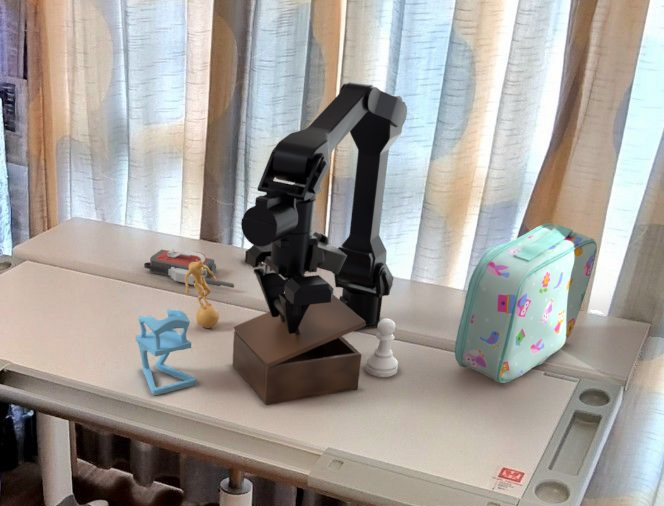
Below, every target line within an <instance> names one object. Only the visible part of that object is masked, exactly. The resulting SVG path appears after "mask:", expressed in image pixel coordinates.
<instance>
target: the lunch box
mask: <svg viewBox="0 0 664 506" xmlns="http://www.w3.org/2000/svg"><path fill="white" fill-rule="evenodd" d="M597 251H598V244H597V242H596V240H595V238H593V237H591V236H588V235H586V234H582V233H578V232H575V231H573V229H572V228H569V227H566V226H563V225H560V224H557V225H554V224H552V223H549V222H547V223H543V224H541V225H538V226H536V227H534V228H533V229H531V230H529V231H528V232H526V233H525V234H523V235H521V236H519V237H516V238H514V239H511V240H510V241H508V242H504V243H500V244H496V245H494V246H492V247H490V248H488V249H487V250H486V251H485V252H484V254H482V256H481V257H480V259H479V261H478V262H477V265H475V268H474V269H473V272H472V274H471V276H470V279H469V282H468V285H467V290H466V291H467V292H466V294H465V297H464V304H463V309H462V312H461V317H460V321H459V325H458V330H457V334H456V339H455V345H454V358H455V361H456V362H457V364H458V367H461V368H469V369H471V370H474V371H475V372H478V374H479V373H480V374H481V375H484V376H485V377H487V378H490V379H492V380H494V381H495V382H497V383H501V384H505V383H509V382H512V381H513V380H515V379H518V378H519V377H521V376H523V375H525V374H526V373H527V372H529V371H531V369H532V368H535V367H537V366H541V364H543V363H544V362H545V361H546V360H547V359H548V358H549V357H551V355H553V354H555V353H556V352H558V351H559V350H560V349H561V348H562V347H563V346H564V345H565V343H566V342H567V340H568V339H569V338H570V335H571V334H572V331H573V329H574V326H575V324H576V321H577V319H578V315H579V313H580V312H581V311H580V310H581V307H582V305H583V303H584V300H585V299H584V298H585V295H586V292H587V289H588V287H589V282H590V279H591V275H592V272H593V269H594V264H595V260H596V256H597Z"/></svg>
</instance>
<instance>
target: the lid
mask: <svg viewBox="0 0 664 506" xmlns="http://www.w3.org/2000/svg"><path fill="white" fill-rule="evenodd" d="M273 305H274V307H275V308H276V309H277V310H278V311H279V316H278V317H272V316H271V313H270V311H267V312H265V313H263V314H260V315H258V316H255V317H253V318H251V319H248V320H246V321H244V322H241V323H240V324H237V325H234V326H233V330H234V331H233V332H236V333H237V334H238V335H239V336H240V337H241V338H242V339H243V341H244V342H245V343H246V344H247V345H248V346H249V347H250V348H251V349H252V350H253V352H254V353H255V354H256V355H257V356H258V357H259V358H260V359H261V360H262V361H263V363H264V364H265V365H266V366H267V367H268V368H269V367H272V366H274V365H276V364H279V363H281V362H283V361H286V360H288V359H290V358H293V357H295V356H297V355H300V354H302V353H304V352H306V351H309V350H311V349H313V348H316V347H318V346H320V345H323V344H325V343H327V342H330V341H332V340H334V339H337V338H339V337H341V336H342V337H344V336H346V335H348V334H350V333H353V332H355V331H357V330H360V328H361V329H363V328H362V327H364V326H366V322H365V321H364V320H363V319H362V318H360V317H359V316H358V315H357V314H356V313H355V312H353V311H352V310H351V309H350V308H349V307H347V306H346V305H345V304H344V303H343V302H342V301H340V300H339V298H338V297H337V296H336V295H335V294H333V299H332V301H331V302H329V303H320V304H311V305H310V306H309V307H308V309H307V311H306V312H305V314H304V317H303V319H302V321H301V323H300V325H299V327H298V329H297V331H296V333H293V334H289V333H288V330H287V326H286V322H285V318H284V313H283V309H282V305H281V300H280V298H277V299H275V301H274V303H273Z"/></svg>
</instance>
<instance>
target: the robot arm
mask: <svg viewBox="0 0 664 506" xmlns="http://www.w3.org/2000/svg"><path fill="white" fill-rule="evenodd" d="M407 115H408V106H407V104H406V102H405V101H404V100H403V98H402V96H400V95H395V94H390V93H387V92H385V91H382V90H381V89H379V88H378V87H376V86H374V85H373V84H369V83H362V82H354V81H349V82H345V83H343V84H342V85H341V87H340V89H339V93H338V94H337V96H335V98H334V99H333V100H332V101H331V102H330V103H329V104H328V105H327V106H326V107H325V108H324V110H322V111H321V112H320V114H319V115H318V116H317V117H316V118H315V119H314V120H313V121H312V123H310V125H308V126H307V127H306V128H305V129H302V130H298V131H297V130H296V131H294V132H291V133H289V134H288V135H286V136H285V137H284V138H282V139H281V140H280V141H279V142H278V143H277V144H276V145H275V147H273V149H272V150H271V153H270V155H269V158H268V161H267V163H266V165H265V167H264V170H263V173H262V176H261V178H260V181H259V183H258V186H257V191H258V192H262V193H265V194H264V195H259V196H257V197H256V198H255V199H254V200H255V201H254V202H255V203H254V205H253V206H251V207H249V208H248V209H247V210H246V211H245V212H244V214H243V216H242V218H241V222H240V225H241V230H242V234H243V236H244V237H245V239H246V240H247V242H249V243H250V244H251V245H252V246H251V247H250V248H248V249H249V250H248V249H247V250H248V254H247V262H248V263H247V264H248V265H250V266H251V268H252V269H253V268H254V269H253V273H254V275H255V276H256V279H257V281H258V284H259V287H260V289H261V292H262V295H263V297H264V299H265V302H266V306H267V308H268V310H269V312H270V313H271V316H272V317H278V316H279V311H278V310H277V309H276V308H275V307H274V305H273V303H274V301H275V299H277V298H280V300H281V305H282V309H283V313H284V318H285V322H286V326H287V330H288V333H289V334H293V333H296V331H297V329H298V327H299V325H300V323H301V321H302V319H303V317H304V314H305V312H306V311H307V309H308V307H309V306H310V305H311V304H320V303H329V302H331V301H332V299H333V295H334V292H335V291H334V287H333V286H332V285H331V284H330V282H328V281H327V280H326V279H324V278H323V277H322V276H320V275H319V274H315V275H306V273H307V272H308V273H316V272H318V269H321V270H323V271H326V272H327V271H328V272H331V273H332V274H333V276H334V286H335V288H340V289H342V291H341V292H342V293H341V295H340V296H339V298H338V299H339V300H340V301H342V302H343V303H344V304H345V305H346V306H347V307H349V308H350V309H351V310H352V311H353V312H355V313H356V314H357V315H358V316H359V317H360V318H362V319H363V320H364V321H365V322H366V326H364V327H362V328H360V329H369V328H373V327H377V326H378V323H379V322H380V321H381V320H382V319H381V313H382V312H381V311H382V304H383V297H384V296H385V297H386V296H387V297H388V296H390V294H391V293H390V292H391V290H392V287H393V283H394V276H393V274H392V272H391V270H390V269H389V267H388V265H387V254H388V253H387V249H386V247H385V245H384V243H383V240H382V239H381V236H380V229H381V228H380V227H381V220H382V219H381V218H382V212H383V202H384V193H385V186H386V178H387V170H388V169H387V168H388V162H389V161H388V160H389V152H390V149H391V147H392V146H393V145H394V143H396V141H397V140H398V139H399V137H400V136H401V134H402V132H403V126H404V124H405V123H406V120H407ZM349 134H350V136H351V138H352V140H353V142H354V144H355V146H356V148H357V159H356V169H355V178H354V187H353V188H354V189H353V197H352V206H351V207H352V208H351V215H350V216H351V217H350V227H349V234H348V236H347V238H346V239H345V241H344V242H343V243H342V244H341V246H338V247H336V246H335V245H333V244H331V243H329V237H328V236H327V235H325V234H324V233H323V232H319V231H315V232H314V233H313V229H314V228H313V227H314V218H315V211H316V200H317V195H318V194H321V193H322V191H323V188H322V187H321V184H322V182H323V180H324V177H325V176H326V174H327V173H328V171H329V169H330V168H331V161H330V159H331V158H330V156H331V155H332V153H333V151H334V150H335V149H336V148H337V147H338V145H339V144H340V143H341V142H342V141H343V140H344V139H345V138H346V136H347V135H349ZM275 179H276V180H275ZM281 181H282V182H281ZM287 182H288V183H287ZM292 183H293V184H292ZM360 329H359V330H360Z"/></svg>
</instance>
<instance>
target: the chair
mask: <svg viewBox="0 0 664 506" xmlns="http://www.w3.org/2000/svg"><path fill="white" fill-rule="evenodd" d="M166 313H167V317H165V318H162V319H156V318H154V316H151V315H146V316H143V315H138V318H137V319H138V323H139V326H140V334H138V335H135V342H136V343H137V345H138V348H139V353H140V358H141V364H142V373H143V374H144V377H145V379H146V382H147V385H148V389H149V391H150V392H151V394H152V395H153V396H158V395H163V394H166V393H170V392H173V391H177V390H182V389H184V388H188V387H193V386H195V385H196V384H197V379H196V378H195V377H194V376H192V375H191V374H188V373H187V372H186V373H185V372H184V371H181V370H179V369H176V368H173V367H171V366H169V365H167V364H165V362H166V360H167V358H168V357H169V355H170V354H171V353H173V352H176V351H184V350H188V349H191V348H192V342H191V341H190V340H189V339H187V333H188V330H189V327H190V324H191V321H190V318H189V317H188V315H187V314H186V312H184V311H183V310H180V309H170V308H167V309H166ZM146 326H147V328H149V330H150V331H151V332H147V328H146ZM176 329H177V330H178V329H182V331H181V332H180V333H179V332H178V331H176ZM148 353H150V354H151V355H152V356H154V357H155V358H156V357H159V358H158V359H157V361H156V364H155V368H156V369H157V370H158V371H160V372H162V373H165V374H167V375H169V376H172V377H175V378H176V379H179V380H181V381H178V382H174V383H170V384H165V385H162V386H158V387H156V385H155V380H154V377H153V373H152V370H151V367H150V363H149V357H148Z"/></svg>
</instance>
